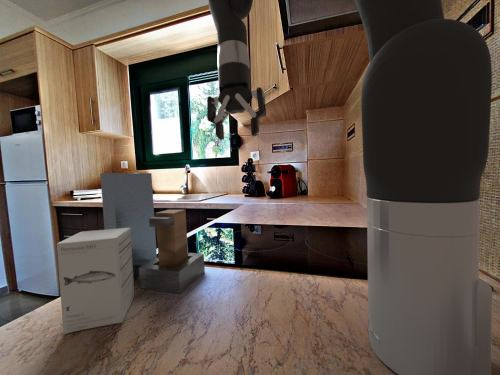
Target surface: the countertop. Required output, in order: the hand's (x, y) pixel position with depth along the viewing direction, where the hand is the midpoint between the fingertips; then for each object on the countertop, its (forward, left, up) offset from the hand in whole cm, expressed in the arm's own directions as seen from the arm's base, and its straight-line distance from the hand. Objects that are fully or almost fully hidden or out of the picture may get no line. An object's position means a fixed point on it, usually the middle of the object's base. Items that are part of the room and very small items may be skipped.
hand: (237, 137), depth 51 cm
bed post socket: (+14, +13, -30) cm, 35 cm away
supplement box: (+14, +25, -30) cm, 42 cm away
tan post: (+10, +13, -30) cm, 34 cm away
